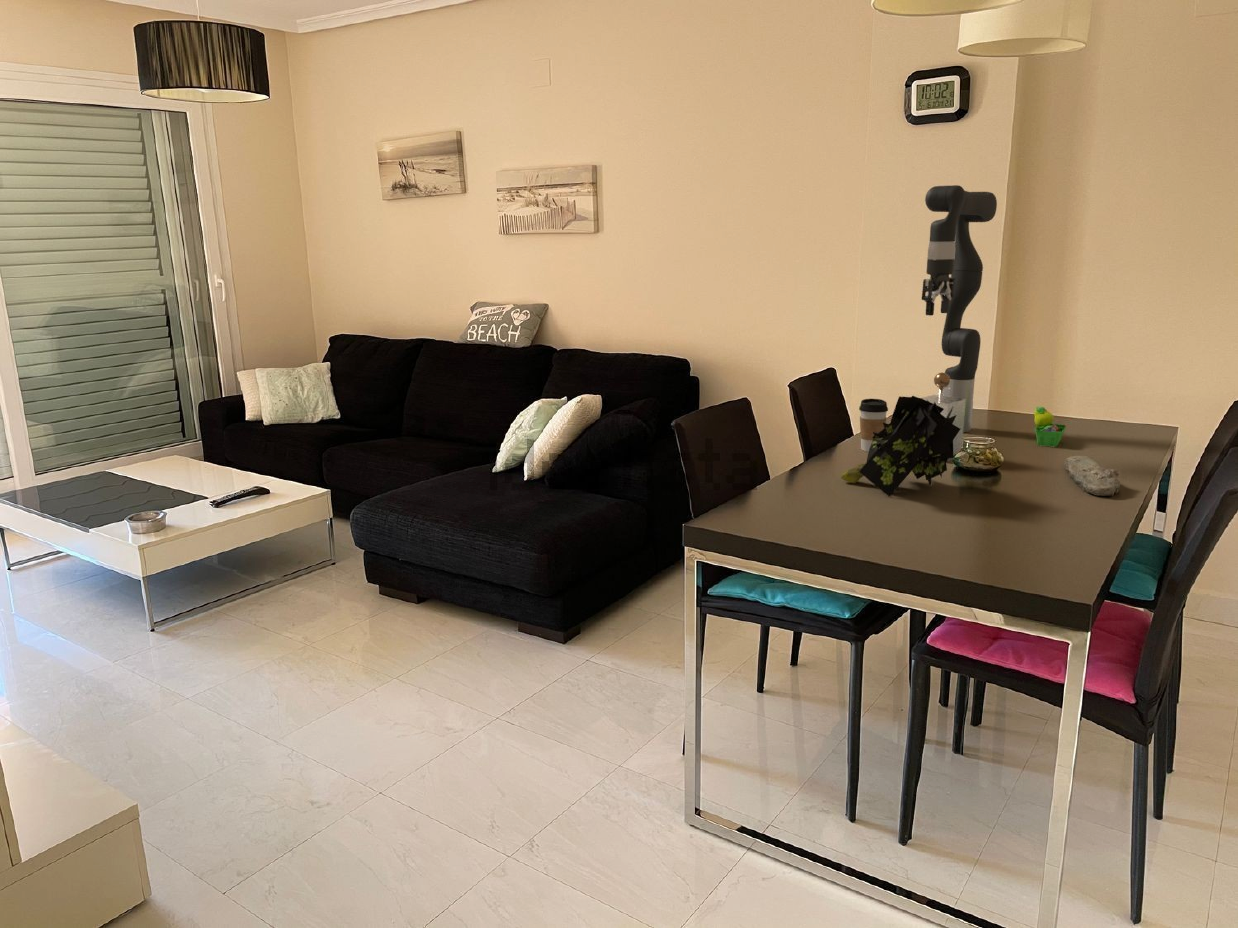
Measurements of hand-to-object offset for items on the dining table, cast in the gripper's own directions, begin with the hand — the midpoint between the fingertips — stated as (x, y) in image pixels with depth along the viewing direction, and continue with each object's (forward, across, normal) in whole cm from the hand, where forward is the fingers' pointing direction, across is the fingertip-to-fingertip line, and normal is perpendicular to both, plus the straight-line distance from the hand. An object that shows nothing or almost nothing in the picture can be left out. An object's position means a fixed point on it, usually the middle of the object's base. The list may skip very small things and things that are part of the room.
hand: (937, 314), depth 268 cm
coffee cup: (+40, +15, -10) cm, 44 cm away
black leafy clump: (+40, +46, +18) cm, 64 cm away
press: (+40, +9, +8) cm, 42 cm away
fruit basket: (+40, -30, +23) cm, 55 cm away
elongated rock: (+41, +4, +49) cm, 64 cm away
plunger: (+37, +9, +8) cm, 39 cm away
